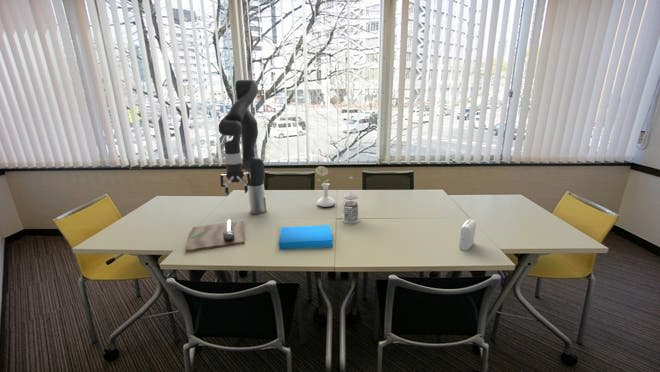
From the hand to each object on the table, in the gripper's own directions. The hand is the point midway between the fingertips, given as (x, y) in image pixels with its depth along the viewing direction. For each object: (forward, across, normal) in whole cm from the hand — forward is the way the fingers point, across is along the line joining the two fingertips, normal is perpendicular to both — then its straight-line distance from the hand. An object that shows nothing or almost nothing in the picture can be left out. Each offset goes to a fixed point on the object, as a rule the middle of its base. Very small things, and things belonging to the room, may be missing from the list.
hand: (236, 193), depth 156 cm
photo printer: (+20, -101, +47) cm, 113 cm away
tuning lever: (+19, +5, +5) cm, 20 cm away
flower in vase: (+20, -51, -22) cm, 59 cm away
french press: (+20, -59, +4) cm, 62 cm away
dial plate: (+21, +11, +4) cm, 24 cm away
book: (+21, -31, +20) cm, 43 cm away
